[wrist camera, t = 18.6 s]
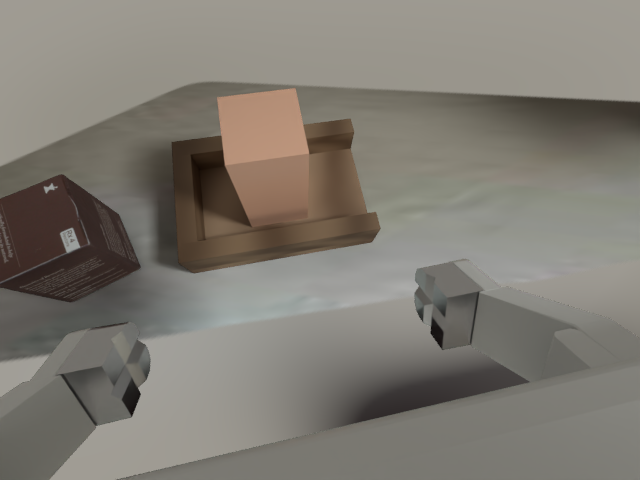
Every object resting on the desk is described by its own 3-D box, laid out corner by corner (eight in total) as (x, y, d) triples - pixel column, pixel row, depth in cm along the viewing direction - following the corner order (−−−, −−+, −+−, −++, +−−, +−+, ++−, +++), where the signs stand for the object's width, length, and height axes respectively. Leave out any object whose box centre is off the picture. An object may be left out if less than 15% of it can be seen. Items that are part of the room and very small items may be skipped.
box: (52, 243, 28) (-32, 208, 21) (120, 213, 29) (62, 170, 22) (72, 304, 26) (-13, 289, 19) (143, 270, 27) (88, 244, 20)
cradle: (345, 142, 32) (350, 118, 29) (371, 242, 29) (380, 228, 26) (185, 164, 31) (171, 142, 27) (193, 273, 27) (178, 263, 24)
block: (298, 170, 30) (295, 88, 20) (307, 218, 28) (309, 153, 19) (245, 177, 29) (217, 97, 20) (252, 227, 28) (225, 165, 18)
